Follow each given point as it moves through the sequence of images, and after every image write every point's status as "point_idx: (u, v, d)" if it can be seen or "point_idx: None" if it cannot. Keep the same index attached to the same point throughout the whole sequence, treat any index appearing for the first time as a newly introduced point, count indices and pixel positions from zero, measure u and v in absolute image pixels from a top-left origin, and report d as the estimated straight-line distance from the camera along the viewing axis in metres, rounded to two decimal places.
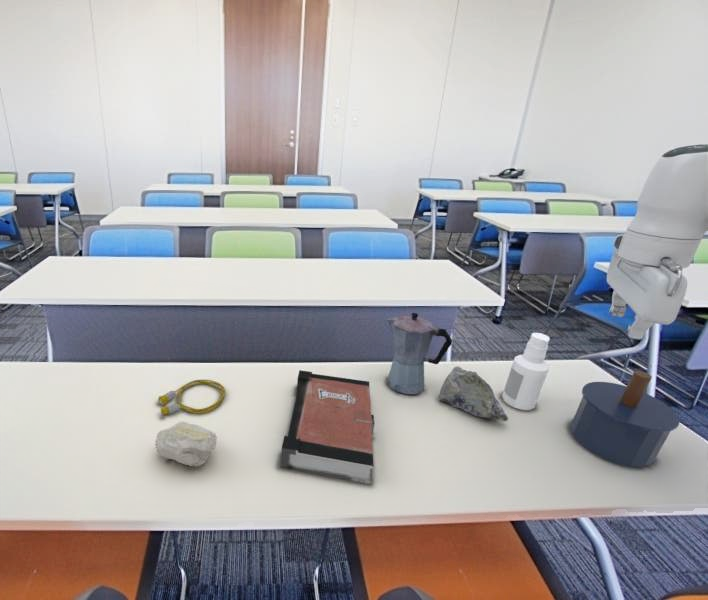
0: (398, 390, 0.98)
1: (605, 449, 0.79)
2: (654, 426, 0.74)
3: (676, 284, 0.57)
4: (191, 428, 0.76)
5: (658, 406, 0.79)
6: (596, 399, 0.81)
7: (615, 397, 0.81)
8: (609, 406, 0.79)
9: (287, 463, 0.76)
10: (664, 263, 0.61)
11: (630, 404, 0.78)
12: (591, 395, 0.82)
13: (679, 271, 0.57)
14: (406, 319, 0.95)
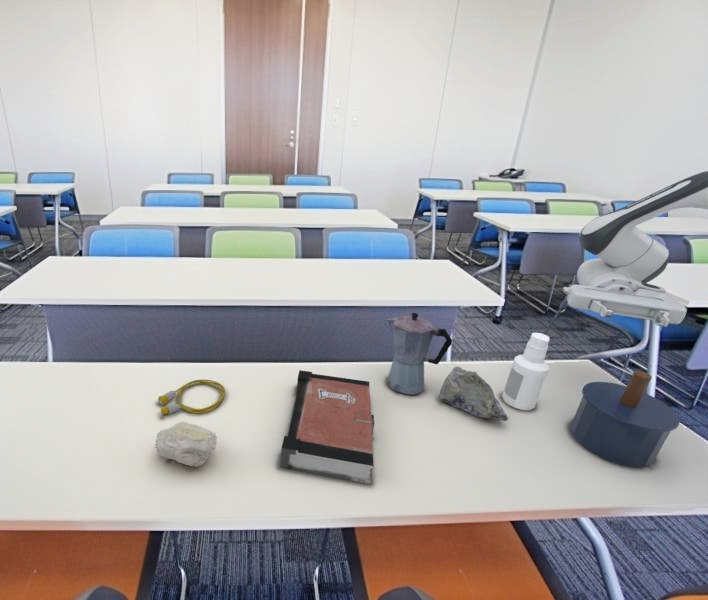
0: (398, 390, 0.98)
1: (605, 449, 0.79)
2: (654, 426, 0.74)
3: (563, 290, 0.97)
4: (191, 428, 0.76)
5: (658, 406, 0.79)
6: (596, 399, 0.81)
7: (615, 397, 0.81)
8: (609, 406, 0.79)
9: (287, 463, 0.75)
10: None
11: (630, 404, 0.78)
12: (591, 395, 0.82)
13: None
14: (406, 319, 0.95)
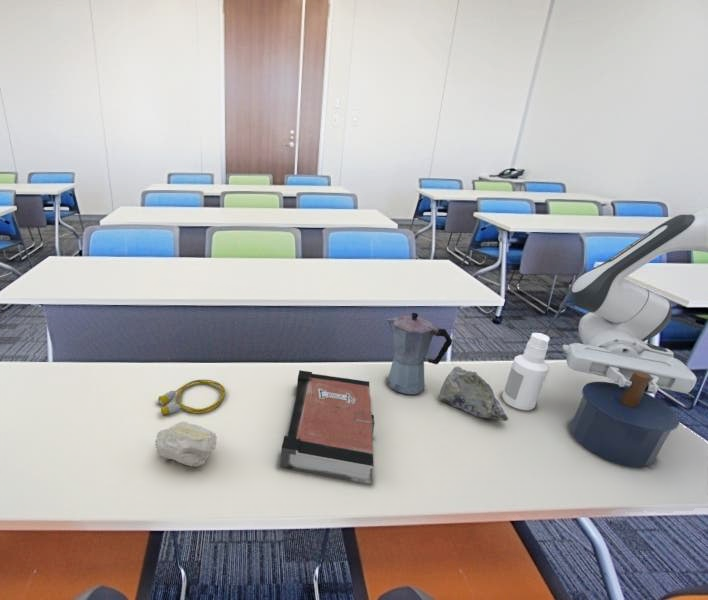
0: (398, 390, 0.98)
1: (605, 449, 0.79)
2: (654, 426, 0.74)
3: (562, 348, 0.90)
4: (191, 428, 0.76)
5: (658, 406, 0.79)
6: (596, 399, 0.81)
7: (615, 397, 0.81)
8: (609, 406, 0.79)
9: (287, 463, 0.75)
10: None
11: (630, 404, 0.78)
12: (591, 395, 0.82)
13: None
14: (406, 319, 0.95)
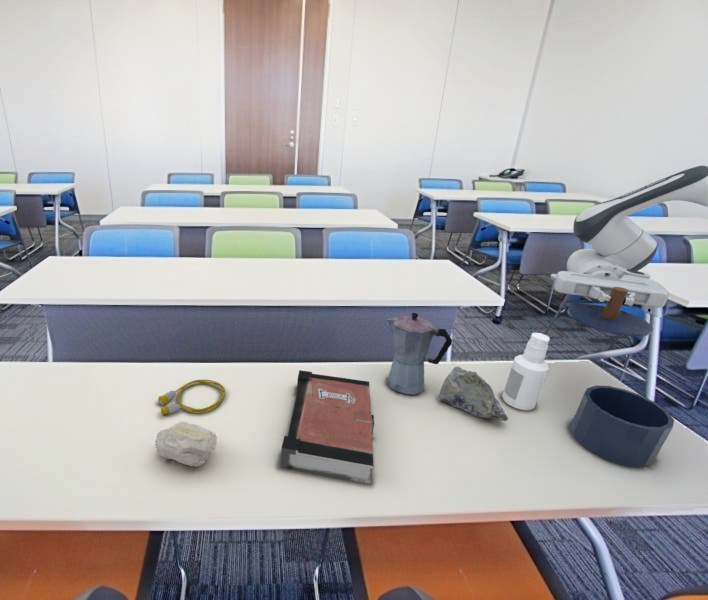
0: (398, 390, 0.98)
1: (605, 449, 0.79)
2: (630, 332, 0.83)
3: (551, 276, 0.99)
4: (191, 428, 0.76)
5: (635, 320, 0.88)
6: (579, 315, 0.90)
7: (597, 314, 0.90)
8: (591, 319, 0.88)
9: (287, 463, 0.75)
10: None
11: (609, 317, 0.87)
12: (575, 312, 0.91)
13: None
14: (406, 319, 0.95)
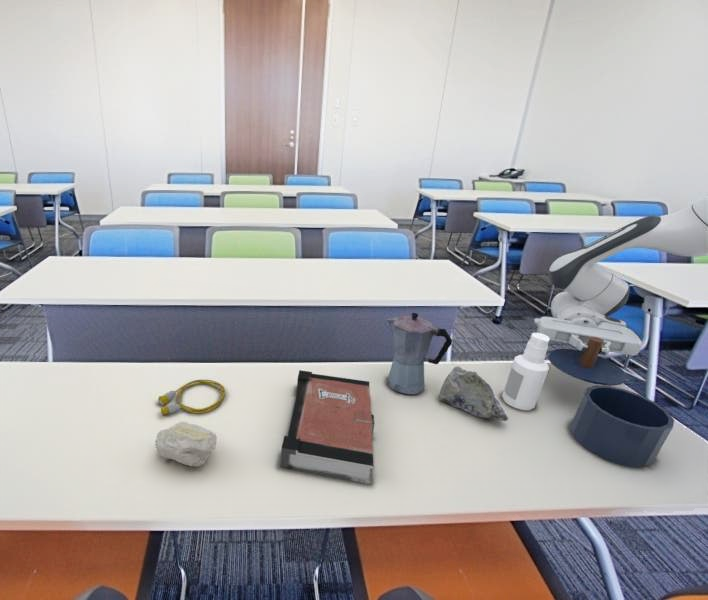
0: (398, 390, 0.98)
1: (605, 449, 0.79)
2: (604, 381, 0.89)
3: (534, 321, 1.05)
4: (191, 428, 0.76)
5: (611, 367, 0.94)
6: (559, 361, 0.96)
7: (575, 360, 0.96)
8: (569, 366, 0.94)
9: (287, 463, 0.76)
10: None
11: (587, 365, 0.93)
12: (555, 358, 0.97)
13: (536, 319, 1.07)
14: (406, 319, 0.95)
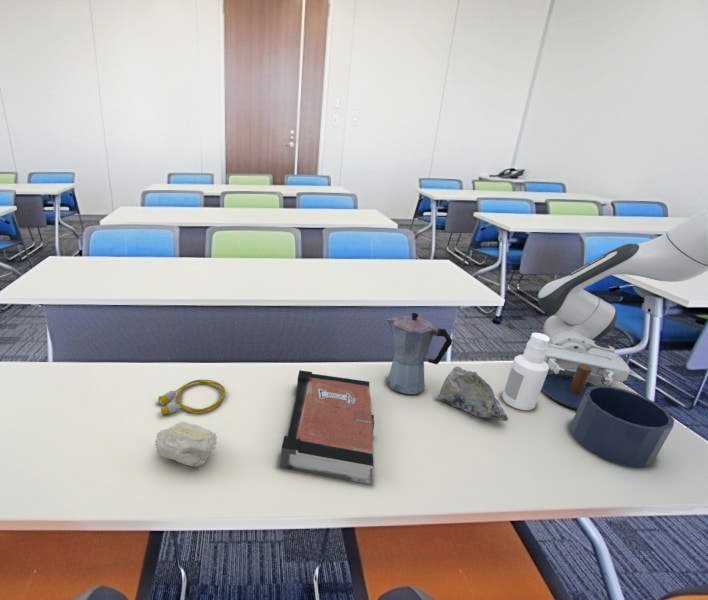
0: (398, 390, 0.98)
1: (605, 449, 0.79)
2: None
3: (526, 345, 1.08)
4: (191, 428, 0.76)
5: None
6: (549, 387, 0.99)
7: (565, 386, 0.99)
8: (559, 393, 0.97)
9: (287, 463, 0.75)
10: None
11: (576, 391, 0.97)
12: (546, 384, 1.00)
13: None
14: (406, 319, 0.95)
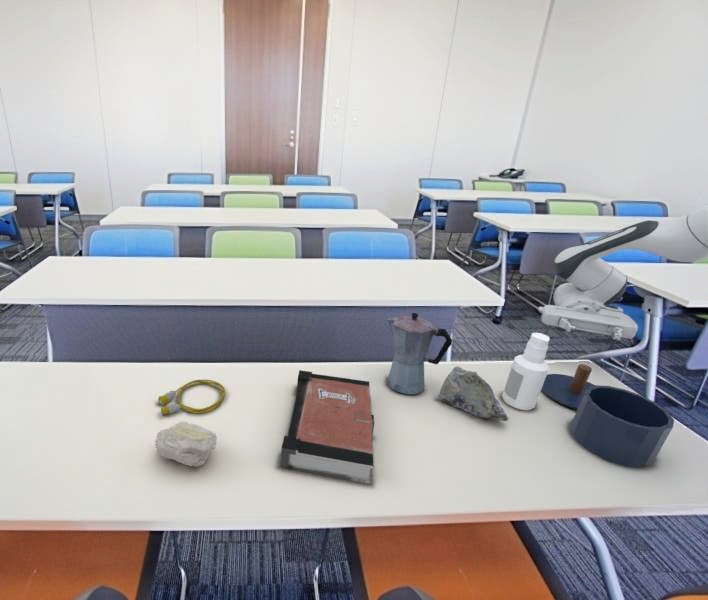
0: (398, 390, 0.98)
1: (605, 449, 0.79)
2: None
3: (538, 309, 1.14)
4: (191, 428, 0.76)
5: None
6: (549, 387, 0.99)
7: (565, 386, 0.99)
8: (559, 393, 0.97)
9: (287, 463, 0.75)
10: None
11: (576, 391, 0.97)
12: (546, 384, 1.00)
13: None
14: (406, 319, 0.95)
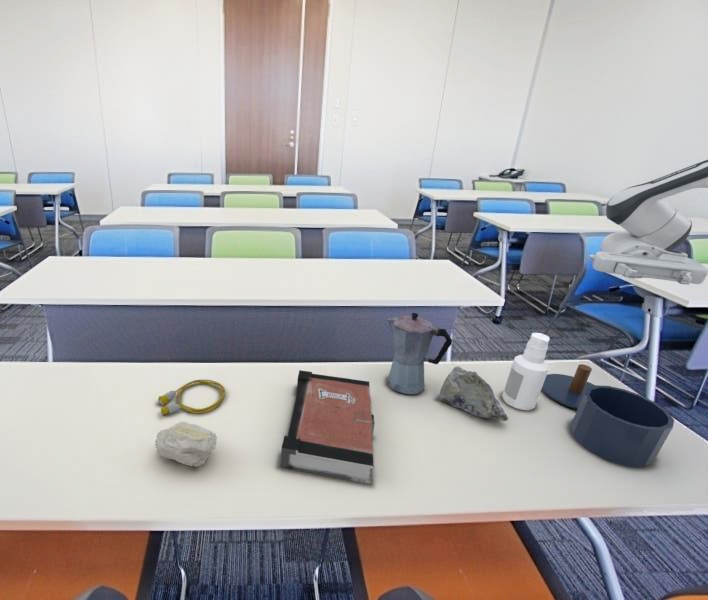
0: (398, 390, 0.98)
1: (605, 449, 0.79)
2: None
3: (588, 257, 1.03)
4: (191, 428, 0.76)
5: None
6: (549, 387, 0.99)
7: (565, 386, 0.99)
8: (559, 393, 0.97)
9: (287, 463, 0.75)
10: None
11: (576, 391, 0.97)
12: (546, 384, 1.00)
13: None
14: (406, 319, 0.95)
